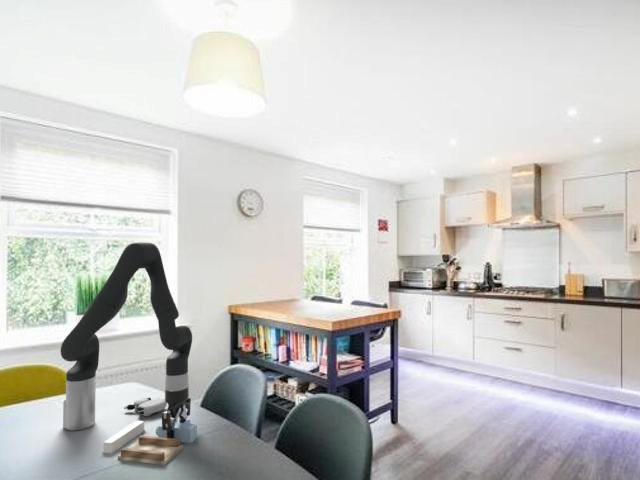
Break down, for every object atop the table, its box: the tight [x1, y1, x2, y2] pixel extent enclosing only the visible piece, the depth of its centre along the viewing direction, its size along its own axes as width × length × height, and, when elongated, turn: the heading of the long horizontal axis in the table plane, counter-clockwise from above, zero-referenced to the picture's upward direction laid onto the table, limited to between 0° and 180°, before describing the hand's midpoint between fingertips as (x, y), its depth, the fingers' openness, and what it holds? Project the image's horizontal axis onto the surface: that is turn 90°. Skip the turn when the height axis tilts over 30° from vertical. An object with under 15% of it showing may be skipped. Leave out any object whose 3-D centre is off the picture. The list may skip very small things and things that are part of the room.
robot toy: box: [123, 397, 168, 417], centre depth 154 cm, size 12×4×15 cm
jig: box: [117, 434, 184, 466], centre depth 121 cm, size 16×10×3 cm, turn 78°
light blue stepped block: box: [155, 418, 198, 444], centre depth 132 cm, size 14×4×6 cm, turn 78°
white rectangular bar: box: [102, 420, 145, 454], centre depth 130 cm, size 3×16×4 cm, turn 168°
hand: (176, 435), depth 131 cm, fingers open, 6 cm apart
